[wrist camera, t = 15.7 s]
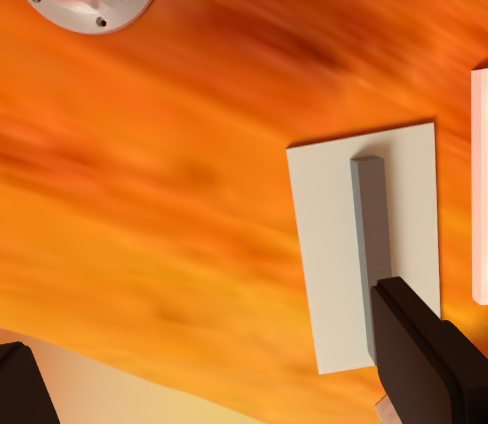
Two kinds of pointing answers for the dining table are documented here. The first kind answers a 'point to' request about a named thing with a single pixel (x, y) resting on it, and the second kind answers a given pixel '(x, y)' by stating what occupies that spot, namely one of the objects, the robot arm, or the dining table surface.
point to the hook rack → (479, 184)
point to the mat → (345, 235)
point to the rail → (371, 232)
